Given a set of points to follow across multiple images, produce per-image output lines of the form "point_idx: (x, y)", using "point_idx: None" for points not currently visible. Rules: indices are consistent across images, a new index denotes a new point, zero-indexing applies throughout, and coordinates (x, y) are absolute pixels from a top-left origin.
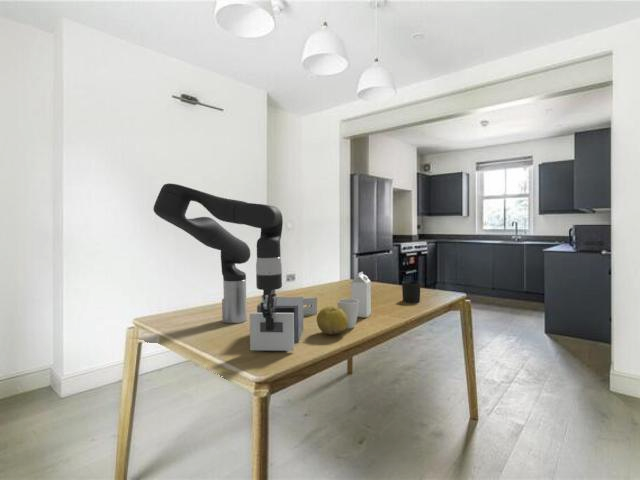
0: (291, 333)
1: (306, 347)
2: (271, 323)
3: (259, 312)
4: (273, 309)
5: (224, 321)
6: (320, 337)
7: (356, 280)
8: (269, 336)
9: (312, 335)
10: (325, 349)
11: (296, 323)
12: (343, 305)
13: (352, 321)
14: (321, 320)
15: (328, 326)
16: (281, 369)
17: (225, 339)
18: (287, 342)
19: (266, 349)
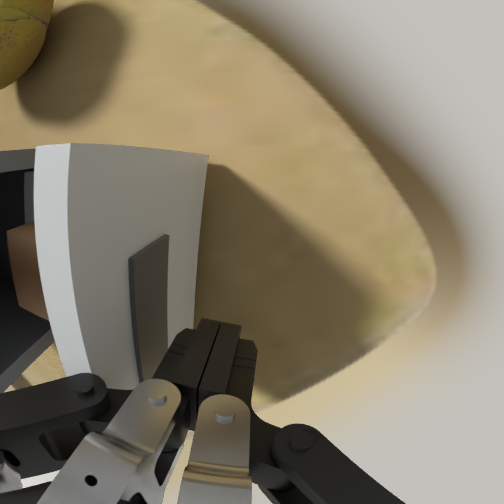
0: (174, 167)
1: (140, 102)
2: (242, 371)
3: (9, 372)
4: (249, 493)
5: None
6: (49, 73)
7: None
8: (172, 308)
9: (28, 109)
10: (181, 23)
11: (15, 161)
12: None
13: None
14: (2, 58)
15: (34, 30)
16: (403, 219)
17: None
18: (191, 191)
19: (194, 291)
